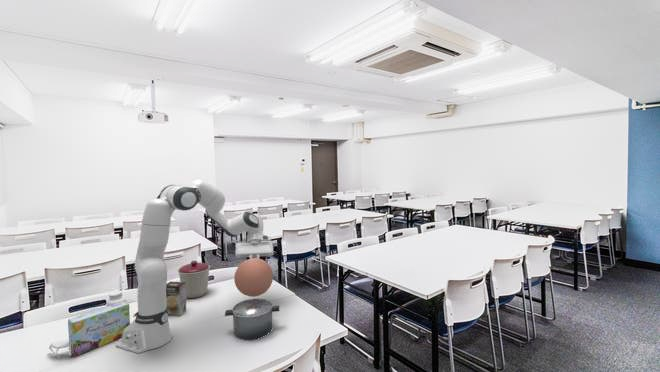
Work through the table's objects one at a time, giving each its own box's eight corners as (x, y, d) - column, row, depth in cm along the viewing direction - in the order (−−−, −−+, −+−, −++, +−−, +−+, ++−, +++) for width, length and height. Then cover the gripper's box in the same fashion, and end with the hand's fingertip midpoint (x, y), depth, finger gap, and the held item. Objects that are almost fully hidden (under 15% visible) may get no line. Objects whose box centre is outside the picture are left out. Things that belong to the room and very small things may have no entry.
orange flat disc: (233, 260, 154) (234, 258, 157) (234, 298, 154) (235, 296, 157) (272, 257, 158) (272, 256, 161) (273, 295, 157) (273, 293, 160)
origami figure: (84, 346, 133) (83, 335, 133) (70, 359, 125) (68, 347, 125) (55, 348, 133) (54, 338, 132) (38, 361, 124) (37, 350, 124)
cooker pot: (222, 343, 135) (222, 319, 135) (229, 321, 154) (228, 300, 154) (280, 337, 140) (279, 313, 139) (279, 316, 158) (279, 296, 158)
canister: (184, 304, 174) (182, 267, 173) (174, 294, 188) (173, 260, 186) (215, 294, 187) (214, 260, 185) (204, 286, 200) (203, 254, 199)
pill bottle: (104, 323, 154) (102, 294, 153) (121, 316, 161) (120, 288, 160) (113, 327, 150) (111, 297, 149) (130, 320, 157) (128, 291, 156)
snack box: (74, 358, 126) (71, 322, 125) (69, 353, 129) (67, 318, 128) (131, 334, 143) (129, 303, 142) (125, 330, 147) (124, 300, 145)
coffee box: (163, 315, 161) (162, 285, 160) (171, 310, 168) (169, 281, 166) (180, 316, 160) (179, 286, 159) (187, 310, 167) (186, 281, 166)
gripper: (235, 238, 168) (233, 261, 159) (273, 236, 172) (273, 259, 163) (236, 244, 173) (234, 267, 164) (273, 242, 176) (273, 264, 167)
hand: (254, 263), depth 163 cm, fingers closed
